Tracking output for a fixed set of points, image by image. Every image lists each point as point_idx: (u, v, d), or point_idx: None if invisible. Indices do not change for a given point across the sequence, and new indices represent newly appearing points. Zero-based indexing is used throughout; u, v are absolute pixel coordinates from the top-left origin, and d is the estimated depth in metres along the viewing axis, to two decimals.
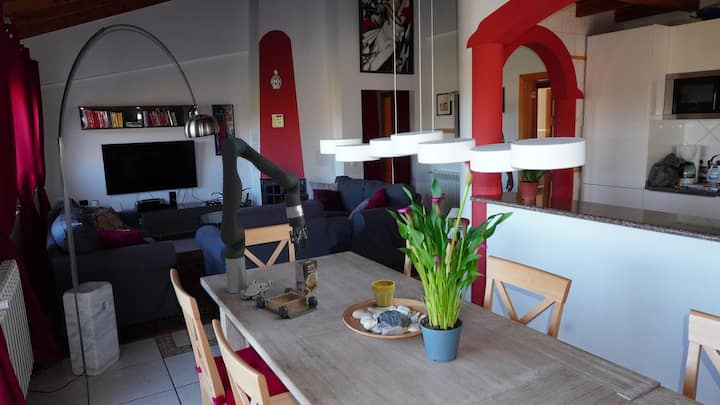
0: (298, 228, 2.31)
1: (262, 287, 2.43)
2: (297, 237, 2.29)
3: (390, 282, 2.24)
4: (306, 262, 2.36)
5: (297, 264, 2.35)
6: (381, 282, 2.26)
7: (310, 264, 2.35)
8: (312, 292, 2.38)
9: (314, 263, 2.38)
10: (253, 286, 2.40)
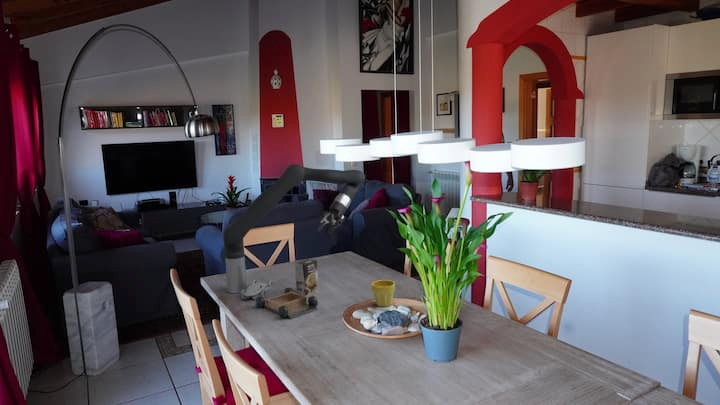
0: None
1: (262, 287, 2.43)
2: None
3: (390, 282, 2.24)
4: (306, 262, 2.36)
5: (297, 264, 2.35)
6: (381, 282, 2.26)
7: (310, 264, 2.35)
8: (312, 292, 2.38)
9: (314, 263, 2.38)
10: (253, 286, 2.40)
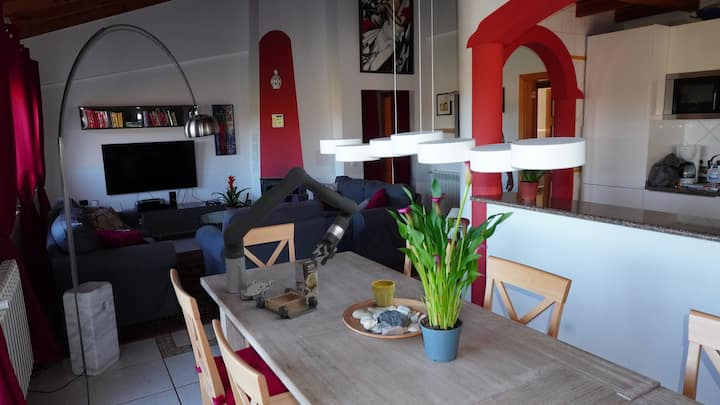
0: None
1: (262, 287, 2.43)
2: None
3: (390, 282, 2.24)
4: (306, 262, 2.36)
5: (297, 264, 2.35)
6: (381, 282, 2.26)
7: (310, 264, 2.35)
8: (312, 292, 2.38)
9: (314, 263, 2.38)
10: (253, 286, 2.40)
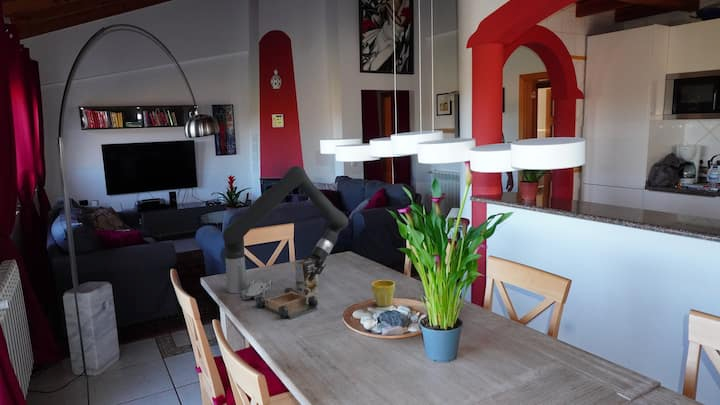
0: None
1: (263, 287, 2.43)
2: None
3: (390, 282, 2.24)
4: (306, 262, 2.36)
5: (297, 264, 2.35)
6: (381, 282, 2.26)
7: (310, 264, 2.35)
8: (312, 292, 2.38)
9: (314, 263, 2.38)
10: (254, 286, 2.40)
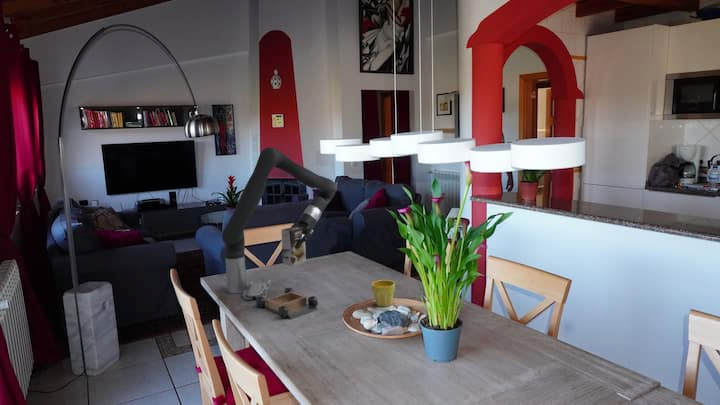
0: None
1: (264, 287, 2.43)
2: (305, 236, 2.26)
3: (390, 282, 2.24)
4: (293, 229, 2.24)
5: (283, 231, 2.23)
6: (381, 282, 2.26)
7: (297, 231, 2.24)
8: (299, 260, 2.26)
9: (301, 230, 2.26)
10: (255, 286, 2.40)
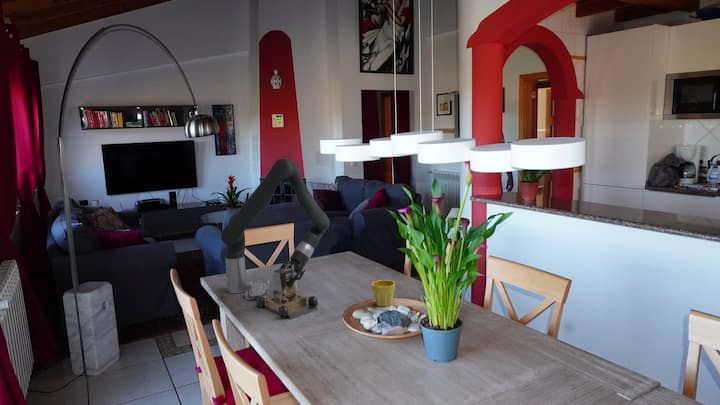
0: None
1: (265, 287, 2.43)
2: None
3: (390, 282, 2.24)
4: (284, 270, 2.19)
5: (274, 272, 2.19)
6: (381, 282, 2.26)
7: (288, 272, 2.19)
8: None
9: None
10: (257, 286, 2.40)
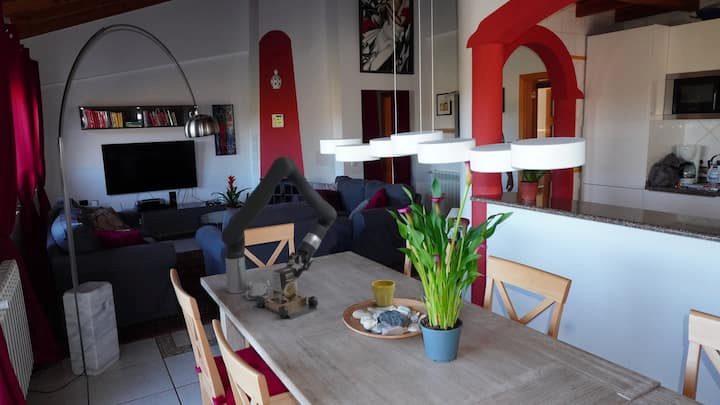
0: None
1: (265, 287, 2.43)
2: None
3: (390, 282, 2.24)
4: (284, 270, 2.19)
5: (274, 272, 2.19)
6: (381, 282, 2.26)
7: (288, 272, 2.19)
8: None
9: (293, 271, 2.21)
10: (257, 286, 2.40)
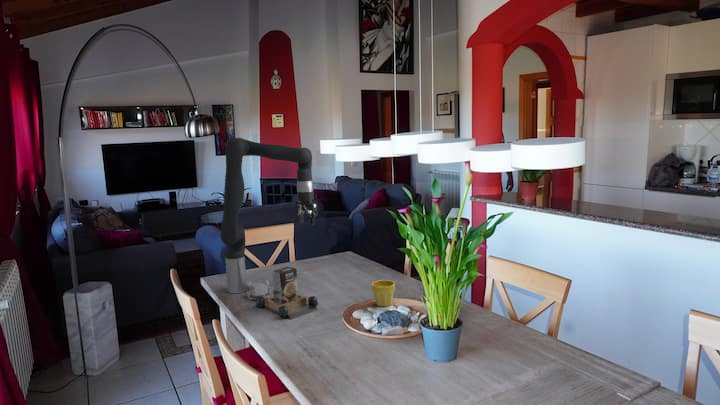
0: None
1: (266, 287, 2.43)
2: None
3: (390, 282, 2.24)
4: (284, 270, 2.19)
5: (274, 272, 2.19)
6: (381, 282, 2.26)
7: (288, 272, 2.19)
8: None
9: (293, 271, 2.21)
10: (259, 286, 2.40)
